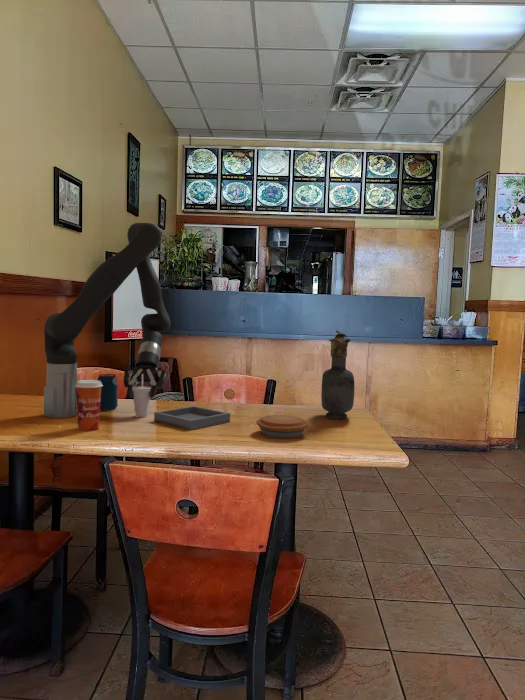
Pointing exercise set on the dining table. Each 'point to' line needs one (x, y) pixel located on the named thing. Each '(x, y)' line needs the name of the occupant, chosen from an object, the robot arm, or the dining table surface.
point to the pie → (282, 426)
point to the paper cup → (88, 404)
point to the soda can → (108, 391)
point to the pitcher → (338, 381)
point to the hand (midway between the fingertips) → (140, 396)
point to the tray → (192, 417)
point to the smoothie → (141, 399)
